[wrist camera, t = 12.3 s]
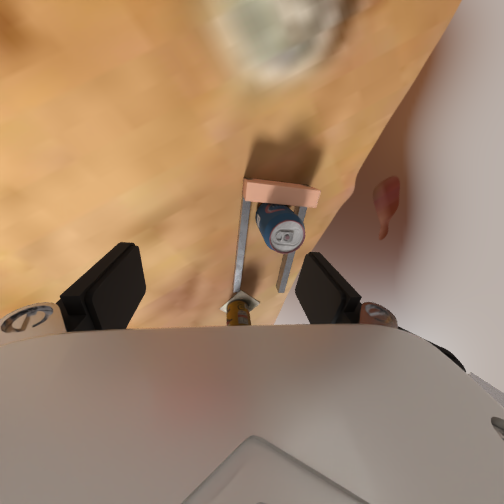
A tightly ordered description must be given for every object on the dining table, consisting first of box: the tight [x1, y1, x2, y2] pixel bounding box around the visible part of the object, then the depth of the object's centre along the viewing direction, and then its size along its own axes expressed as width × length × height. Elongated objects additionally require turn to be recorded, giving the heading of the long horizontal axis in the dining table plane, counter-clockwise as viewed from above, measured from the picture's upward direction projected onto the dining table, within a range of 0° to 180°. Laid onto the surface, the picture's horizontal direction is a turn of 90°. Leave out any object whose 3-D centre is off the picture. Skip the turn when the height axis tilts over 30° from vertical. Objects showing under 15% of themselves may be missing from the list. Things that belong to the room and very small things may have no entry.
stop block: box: [242, 178, 321, 208], centre depth 34 cm, size 3×13×6 cm, turn 82°
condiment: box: [220, 291, 260, 326], centre depth 46 cm, size 7×8×12 cm
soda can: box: [256, 203, 305, 254], centre depth 34 cm, size 7×7×12 cm
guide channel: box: [233, 177, 311, 293], centre depth 41 cm, size 26×13×2 cm, turn 172°
